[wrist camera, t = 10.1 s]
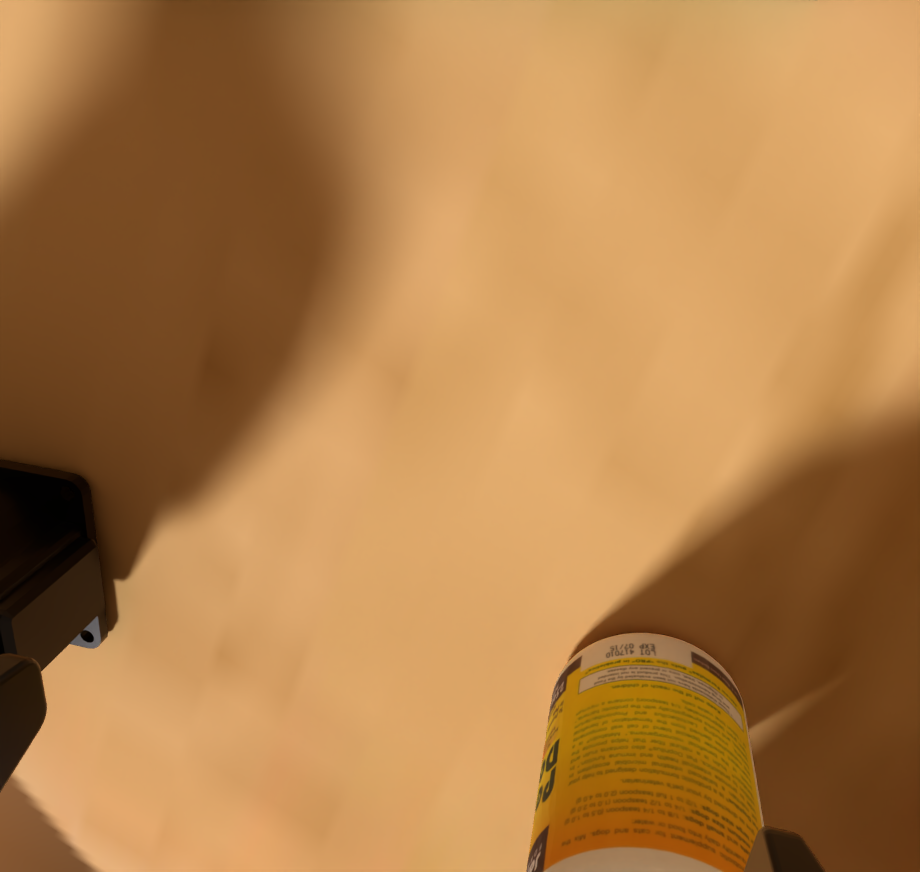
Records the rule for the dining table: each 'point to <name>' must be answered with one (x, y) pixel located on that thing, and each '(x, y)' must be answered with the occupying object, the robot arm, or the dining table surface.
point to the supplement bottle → (645, 763)
